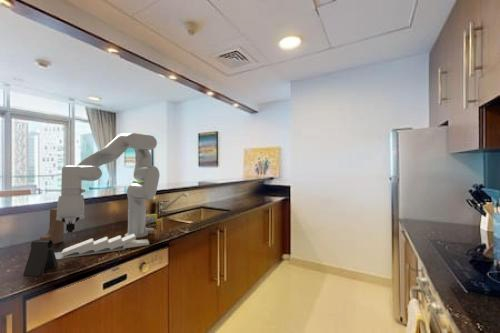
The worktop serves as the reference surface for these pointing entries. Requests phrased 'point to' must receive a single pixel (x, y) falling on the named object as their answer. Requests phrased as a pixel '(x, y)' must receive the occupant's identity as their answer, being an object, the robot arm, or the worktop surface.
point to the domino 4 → (124, 241)
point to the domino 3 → (110, 243)
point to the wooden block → (54, 229)
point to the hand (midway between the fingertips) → (70, 231)
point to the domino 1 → (77, 247)
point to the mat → (60, 256)
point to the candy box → (151, 220)
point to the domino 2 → (95, 245)
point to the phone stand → (40, 258)
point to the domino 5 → (136, 243)
